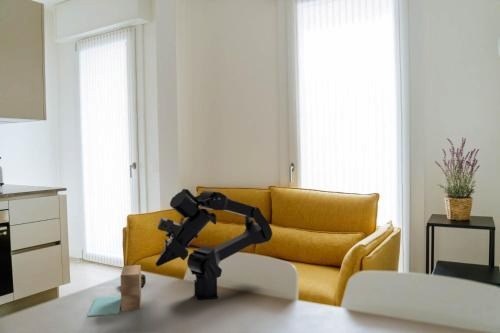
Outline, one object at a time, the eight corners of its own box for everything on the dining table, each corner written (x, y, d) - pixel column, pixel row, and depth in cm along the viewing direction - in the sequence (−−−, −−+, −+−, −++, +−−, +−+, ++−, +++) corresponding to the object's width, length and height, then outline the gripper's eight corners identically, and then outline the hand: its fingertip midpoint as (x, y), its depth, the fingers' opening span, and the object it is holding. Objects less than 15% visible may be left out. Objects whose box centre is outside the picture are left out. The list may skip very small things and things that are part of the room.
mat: (123, 296, 125) (123, 295, 125) (118, 313, 111) (118, 312, 111) (95, 298, 123) (95, 297, 123) (87, 316, 109) (87, 315, 109)
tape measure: (144, 282, 139) (143, 271, 139) (147, 288, 132) (147, 277, 132) (123, 285, 136) (122, 274, 136) (125, 291, 130) (125, 279, 130)
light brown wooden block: (141, 297, 124) (140, 264, 124) (139, 309, 114) (139, 274, 114) (124, 298, 123) (123, 266, 122) (121, 311, 113) (120, 275, 113)
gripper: (171, 204, 129) (136, 240, 127) (175, 212, 111) (134, 255, 109) (197, 227, 131) (163, 263, 129) (204, 238, 113) (165, 281, 111)
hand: (156, 265), depth 120 cm, fingers closed
